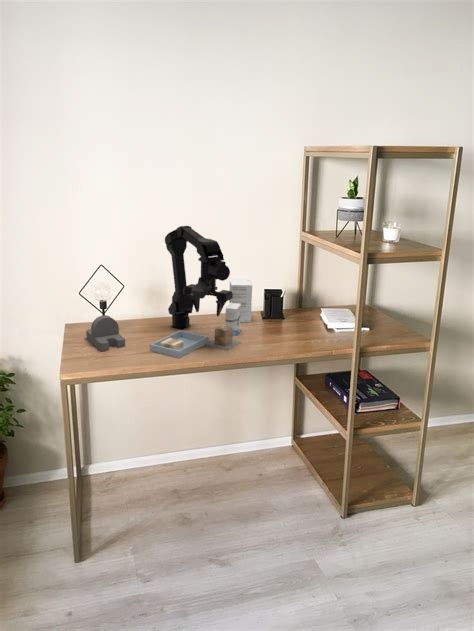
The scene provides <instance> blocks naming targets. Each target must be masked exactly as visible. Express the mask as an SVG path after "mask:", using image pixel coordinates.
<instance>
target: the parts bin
mask: <svg viewBox="0 0 474 631" xmlns="http://www.w3.org/2000/svg"><path fill="white" fill-rule="evenodd" d="M209 337H210V336H209V335H203V334H198V333H194V332H190V331H184V330H180V329H179V330H178V331H176V332H174V333H172V334H169V335H167V336H165V337H163V338H161V339H158V340H157V341H154V342H152V343H150V344H149V351H150V352H153V353H157V354H160V355H165V356H169V357H173V358H178V359H180V358H182V357H185V356H186V355H188V354H190V353H191V352H194V351H195V350H197V349H200V348H201V347H203V346H206V344H208V343H210V342H209V341H210V340H209ZM169 338H173V339H177V340H182V341H183V349H181V350H174V349H170V348H166V347H162V346H161V343H160V342H163V341H165V340H167V339H169Z"/></svg>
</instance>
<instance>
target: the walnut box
mask: <svg viewBox="0 0 474 631" xmlns="http://www.w3.org/2000/svg"><path fill="white" fill-rule="evenodd" d="M233 336H234V335H233V328H231V327H226V325H220V326H218V327H216V328H214V340H215V342H214V344H217V345H222V346H227V345H229V344H231V343H232V340H233Z"/></svg>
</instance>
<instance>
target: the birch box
mask: <svg viewBox="0 0 474 631" xmlns="http://www.w3.org/2000/svg"><path fill="white" fill-rule="evenodd" d="M160 343H161V346H162V347H166V348H170V349H174V350H181V349H183V341H182V340H177V339H173V338H169V339H167V340H165V341H163V342H160Z"/></svg>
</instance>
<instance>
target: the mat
mask: <svg viewBox="0 0 474 631" xmlns="http://www.w3.org/2000/svg"><path fill="white" fill-rule="evenodd" d="M214 342H215V339H213V340H211V341H210V342H209V343H207V344H205V346H209V347H214V348H217V349H223V350H227V351H229V350H231V349H232V348H234V347H235V346H238V345H239V344H241V343H242V341H239V340H236V339H232V343H231V344H229V345H227V346H222V345H217V344H214Z"/></svg>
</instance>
